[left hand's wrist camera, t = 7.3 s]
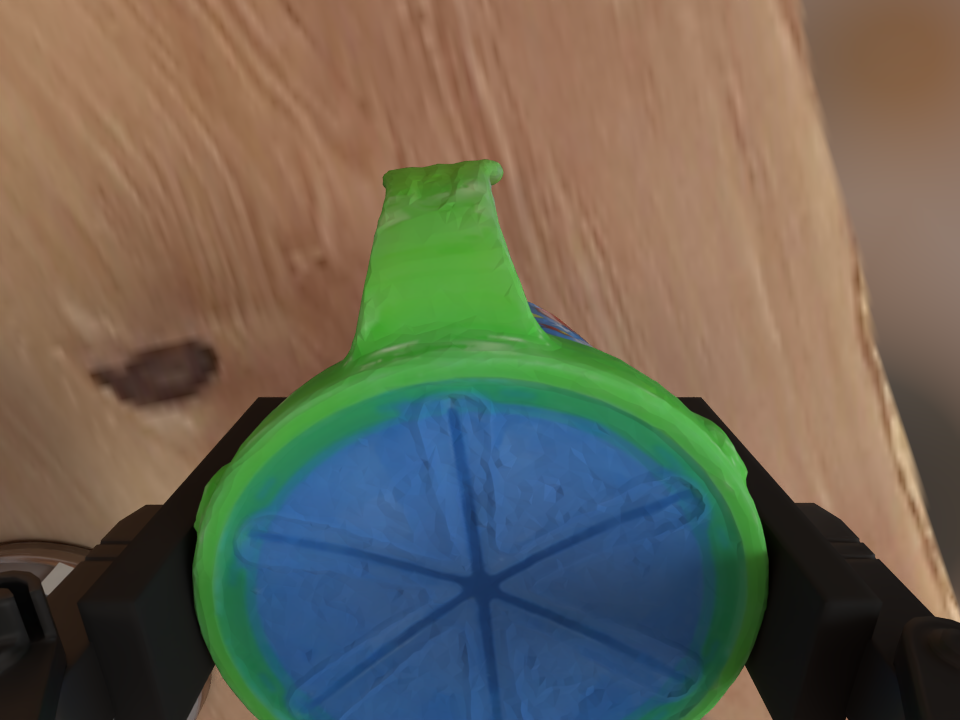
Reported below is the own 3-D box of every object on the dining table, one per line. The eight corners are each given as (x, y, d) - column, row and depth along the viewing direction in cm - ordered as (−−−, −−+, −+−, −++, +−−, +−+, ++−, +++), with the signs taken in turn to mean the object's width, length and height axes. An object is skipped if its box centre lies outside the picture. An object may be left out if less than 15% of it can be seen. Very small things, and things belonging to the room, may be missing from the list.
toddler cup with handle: (612, 572, 19) (710, 884, 11) (348, 572, 19) (251, 885, 11) (655, 155, 15) (880, 165, 6) (305, 155, 15) (82, 166, 6)
